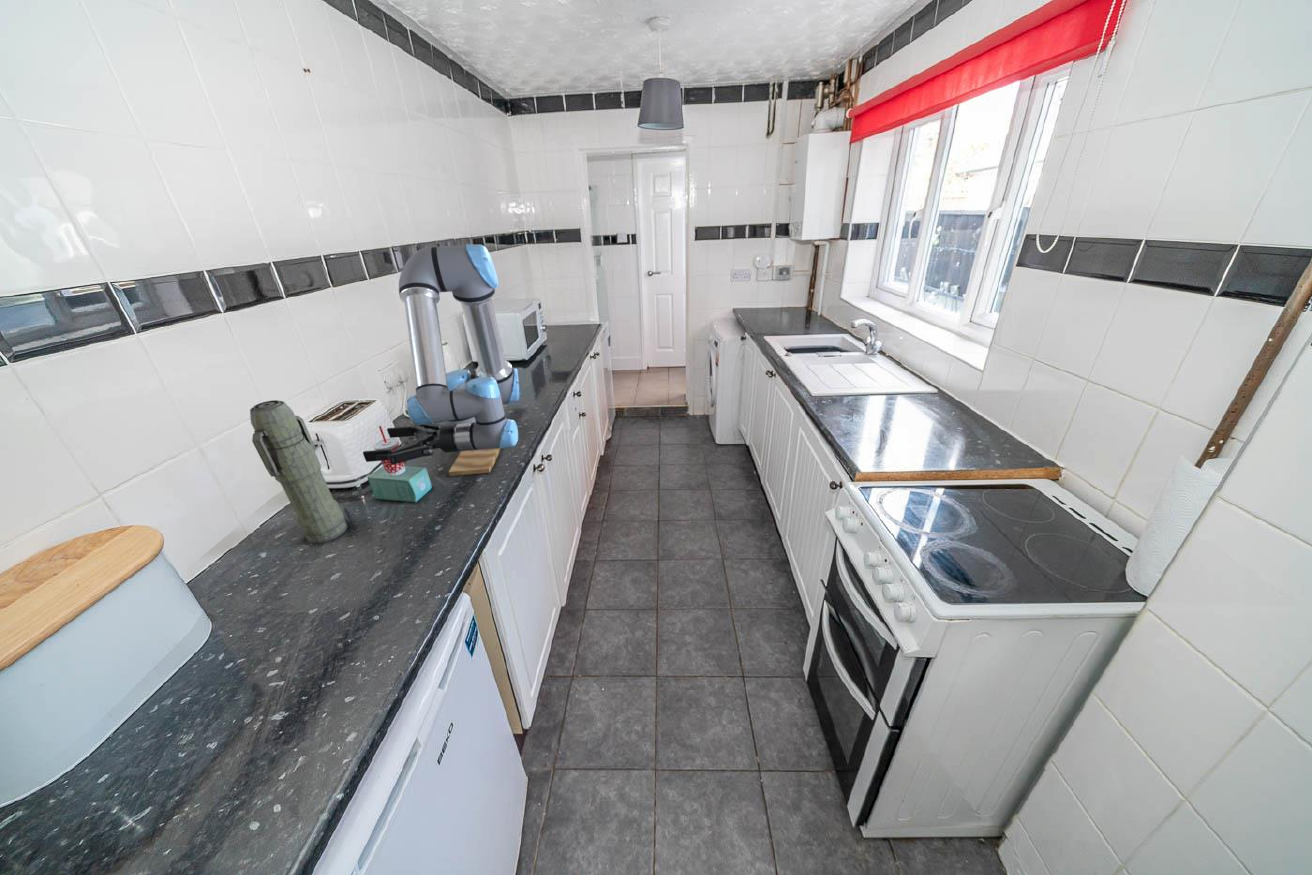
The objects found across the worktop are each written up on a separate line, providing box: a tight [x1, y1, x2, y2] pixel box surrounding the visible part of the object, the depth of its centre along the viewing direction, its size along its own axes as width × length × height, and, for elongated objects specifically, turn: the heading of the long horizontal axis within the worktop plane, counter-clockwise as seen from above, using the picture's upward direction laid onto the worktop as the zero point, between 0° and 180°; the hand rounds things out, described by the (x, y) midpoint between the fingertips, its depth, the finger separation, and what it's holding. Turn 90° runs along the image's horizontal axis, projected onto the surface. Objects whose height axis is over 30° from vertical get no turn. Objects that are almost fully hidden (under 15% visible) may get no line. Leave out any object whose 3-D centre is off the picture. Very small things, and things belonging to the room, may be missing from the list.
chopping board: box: [448, 448, 502, 477], centre depth 144 cm, size 18×12×2 cm, turn 5°
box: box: [366, 465, 432, 503], centre depth 127 cm, size 7×14×8 cm, turn 79°
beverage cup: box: [372, 425, 406, 476], centre depth 122 cm, size 6×6×14 cm
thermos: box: [249, 399, 348, 545], centre depth 106 cm, size 9×12×35 cm
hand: (377, 444), depth 121 cm, fingers open, 13 cm apart
